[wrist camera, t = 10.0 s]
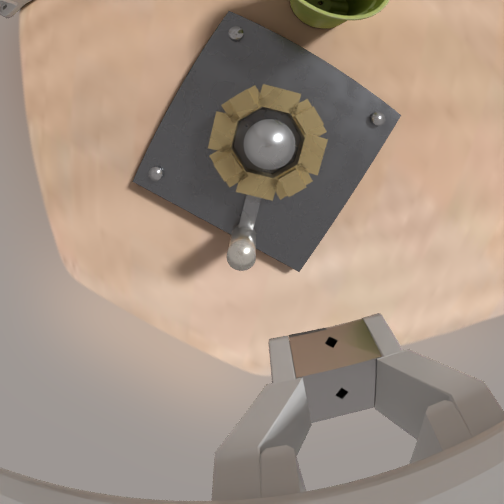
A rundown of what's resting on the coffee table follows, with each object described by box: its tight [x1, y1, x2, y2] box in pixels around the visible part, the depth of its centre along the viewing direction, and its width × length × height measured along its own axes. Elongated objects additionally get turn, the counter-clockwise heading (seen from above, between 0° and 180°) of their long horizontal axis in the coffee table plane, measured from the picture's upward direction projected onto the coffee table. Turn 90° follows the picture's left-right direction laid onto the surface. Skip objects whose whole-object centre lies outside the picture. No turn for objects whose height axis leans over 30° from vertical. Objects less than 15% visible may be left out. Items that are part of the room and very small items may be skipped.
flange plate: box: [133, 11, 401, 272], centre depth 27 cm, size 20×20×8 cm
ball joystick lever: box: [208, 84, 328, 271], centre depth 27 cm, size 16×10×6 cm, turn 166°
